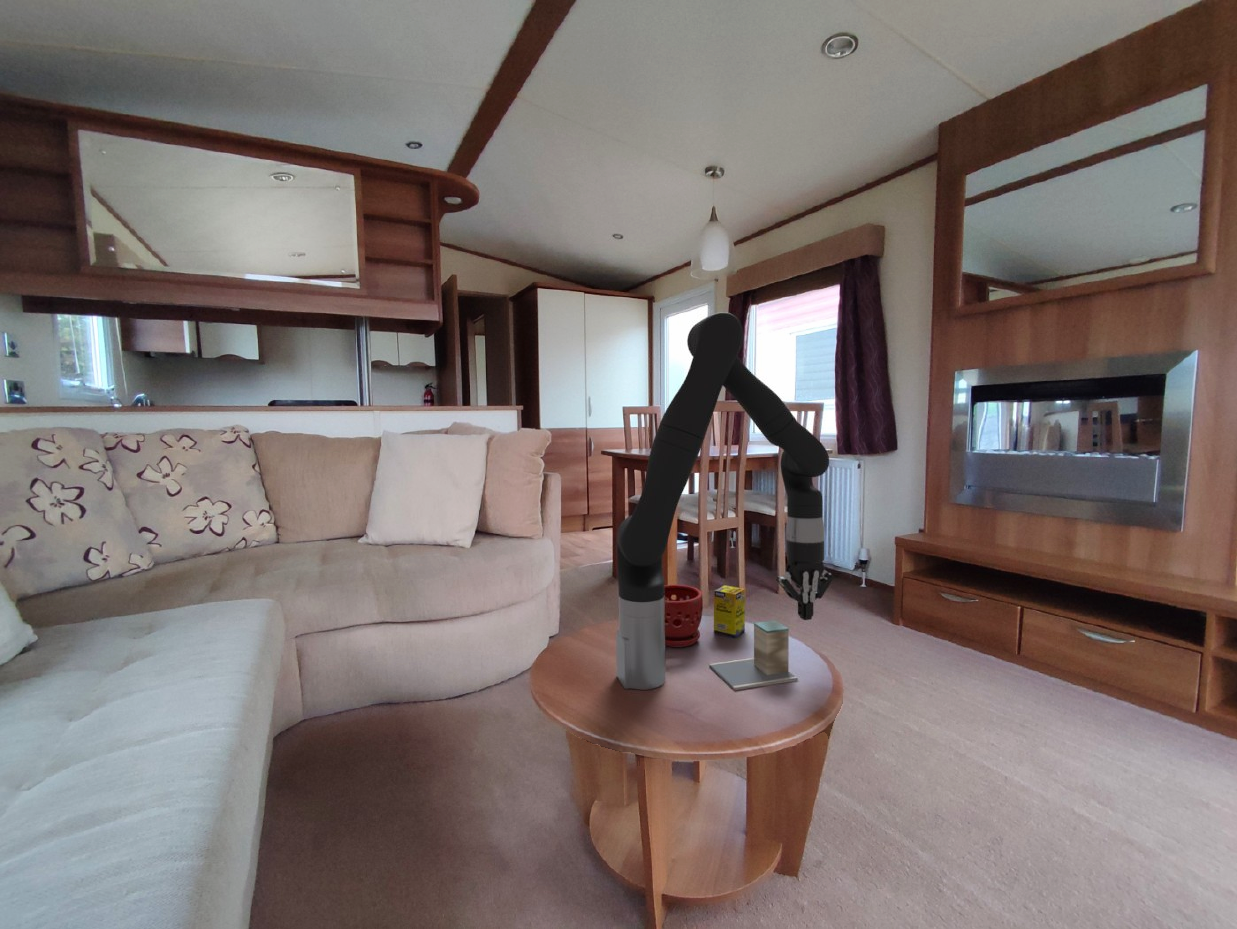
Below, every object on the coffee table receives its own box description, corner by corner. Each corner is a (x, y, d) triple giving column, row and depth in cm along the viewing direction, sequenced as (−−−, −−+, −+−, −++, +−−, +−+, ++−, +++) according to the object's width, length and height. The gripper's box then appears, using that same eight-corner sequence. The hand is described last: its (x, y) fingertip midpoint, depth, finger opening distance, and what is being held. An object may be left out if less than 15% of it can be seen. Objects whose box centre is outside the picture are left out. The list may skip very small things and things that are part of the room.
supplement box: (735, 638, 125) (735, 594, 124) (713, 633, 128) (713, 590, 128) (745, 631, 130) (745, 588, 129) (723, 626, 133) (723, 584, 133)
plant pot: (646, 630, 131) (646, 584, 130) (698, 630, 130) (698, 583, 130) (649, 652, 117) (649, 600, 117) (707, 651, 117) (706, 599, 117)
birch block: (767, 674, 104) (767, 631, 104) (753, 664, 109) (754, 622, 109) (788, 671, 105) (788, 628, 105) (774, 661, 110) (774, 620, 110)
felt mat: (734, 690, 99) (734, 687, 99) (709, 666, 109) (709, 664, 109) (797, 680, 103) (797, 677, 103) (767, 658, 113) (767, 655, 113)
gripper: (788, 543, 103) (788, 628, 104) (843, 538, 106) (844, 621, 107) (767, 537, 110) (768, 616, 111) (820, 532, 113) (821, 609, 114)
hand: (805, 618), depth 109 cm, fingers closed
